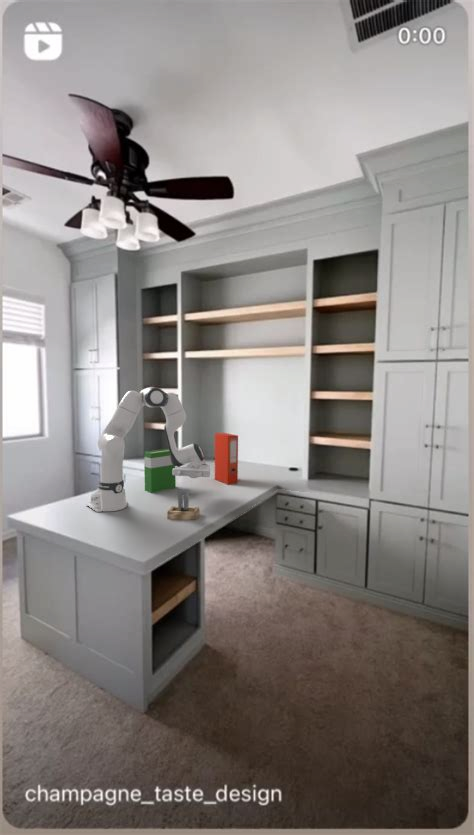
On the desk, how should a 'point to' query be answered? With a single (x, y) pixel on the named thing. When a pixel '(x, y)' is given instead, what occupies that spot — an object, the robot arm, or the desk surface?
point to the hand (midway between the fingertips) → (188, 475)
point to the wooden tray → (183, 513)
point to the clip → (180, 500)
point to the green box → (158, 471)
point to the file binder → (226, 458)
